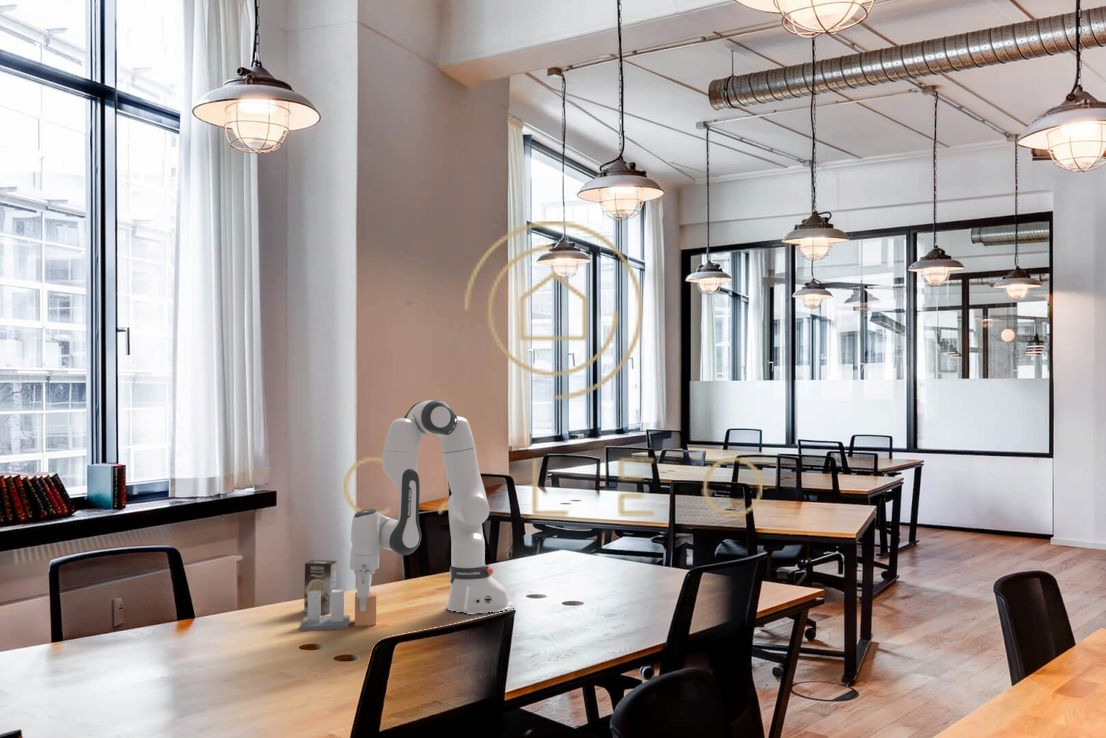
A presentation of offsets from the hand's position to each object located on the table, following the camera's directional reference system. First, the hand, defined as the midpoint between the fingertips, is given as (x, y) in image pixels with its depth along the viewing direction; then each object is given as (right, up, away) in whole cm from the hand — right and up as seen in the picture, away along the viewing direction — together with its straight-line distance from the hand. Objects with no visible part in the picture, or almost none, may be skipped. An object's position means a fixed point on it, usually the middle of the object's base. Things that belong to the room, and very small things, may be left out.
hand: (363, 607), depth 278 cm
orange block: (+1, -5, 0) cm, 5 cm away
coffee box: (-18, -6, +16) cm, 24 cm away
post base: (-11, -5, -2) cm, 12 cm away
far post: (-15, -5, -3) cm, 16 cm away
